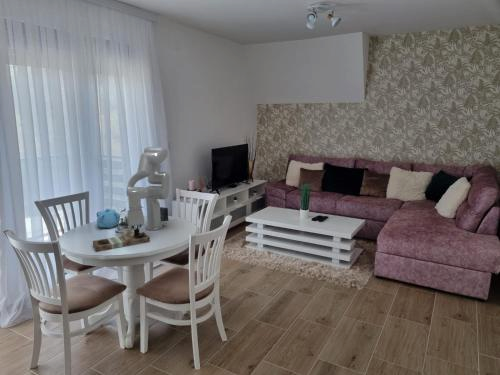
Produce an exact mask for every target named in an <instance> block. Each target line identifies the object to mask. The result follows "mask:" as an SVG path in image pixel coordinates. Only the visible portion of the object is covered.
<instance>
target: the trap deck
mask: <svg viewBox="0 0 500 375" xmlns="http://www.w3.org/2000/svg"><path fill="white" fill-rule="evenodd" d="M133 236H134V239H128V240H125V238H124V236H123V235H119V236H114V237H113V236H112V237H108V238H107V237H106V238H102V239H97V240H92V246H93V247H94V250H95V251H96V252H103V251H108V250H114V249H119V248H123V247H130V246H134V245H141V244H145V243H150V242H151V238H150V236H149V235H148V234H146V232H145V231H143V232H139V235H137V236H136V235H135V234H134V233H133Z"/></svg>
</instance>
